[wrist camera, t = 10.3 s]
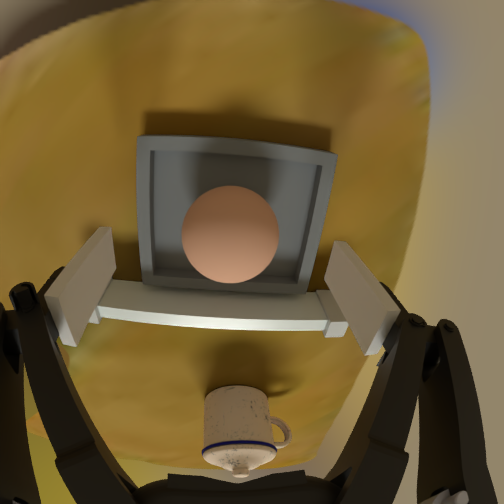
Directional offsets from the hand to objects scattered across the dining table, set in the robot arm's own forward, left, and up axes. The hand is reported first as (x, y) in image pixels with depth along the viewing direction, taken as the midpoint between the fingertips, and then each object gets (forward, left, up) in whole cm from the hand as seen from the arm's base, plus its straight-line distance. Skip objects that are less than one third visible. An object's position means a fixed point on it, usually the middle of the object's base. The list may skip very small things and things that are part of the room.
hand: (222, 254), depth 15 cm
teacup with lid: (+4, -27, -7) cm, 28 cm away
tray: (0, 0, -6) cm, 7 cm away
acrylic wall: (-1, -8, -6) cm, 10 cm away
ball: (0, 0, -3) cm, 3 cm away
